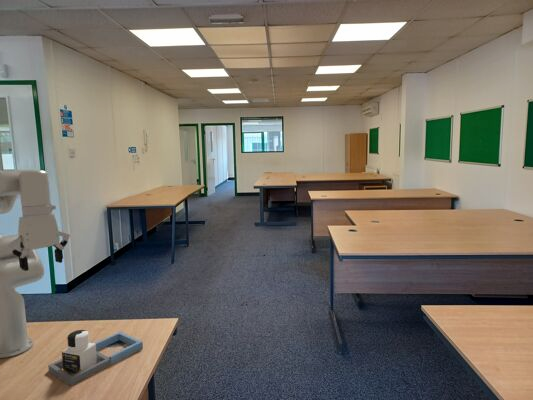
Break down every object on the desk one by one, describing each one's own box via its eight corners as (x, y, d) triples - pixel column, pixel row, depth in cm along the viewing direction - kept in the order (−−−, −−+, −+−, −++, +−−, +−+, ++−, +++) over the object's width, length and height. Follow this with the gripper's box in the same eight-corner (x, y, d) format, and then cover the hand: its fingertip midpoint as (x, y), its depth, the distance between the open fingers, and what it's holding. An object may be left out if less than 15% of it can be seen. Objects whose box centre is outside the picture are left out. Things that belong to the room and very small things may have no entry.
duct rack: (48, 371, 116) (48, 363, 116) (120, 337, 137) (120, 331, 137) (70, 385, 109) (69, 377, 108) (142, 348, 129) (142, 341, 129)
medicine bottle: (62, 372, 116) (59, 336, 114) (80, 360, 122) (77, 326, 121) (80, 376, 113) (78, 339, 112) (97, 363, 120) (95, 329, 119)
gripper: (60, 207, 119) (65, 257, 121) (-2, 214, 106) (5, 271, 107) (72, 208, 115) (76, 260, 117) (9, 215, 101) (15, 275, 103)
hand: (42, 265), depth 112 cm, fingers open, 9 cm apart
